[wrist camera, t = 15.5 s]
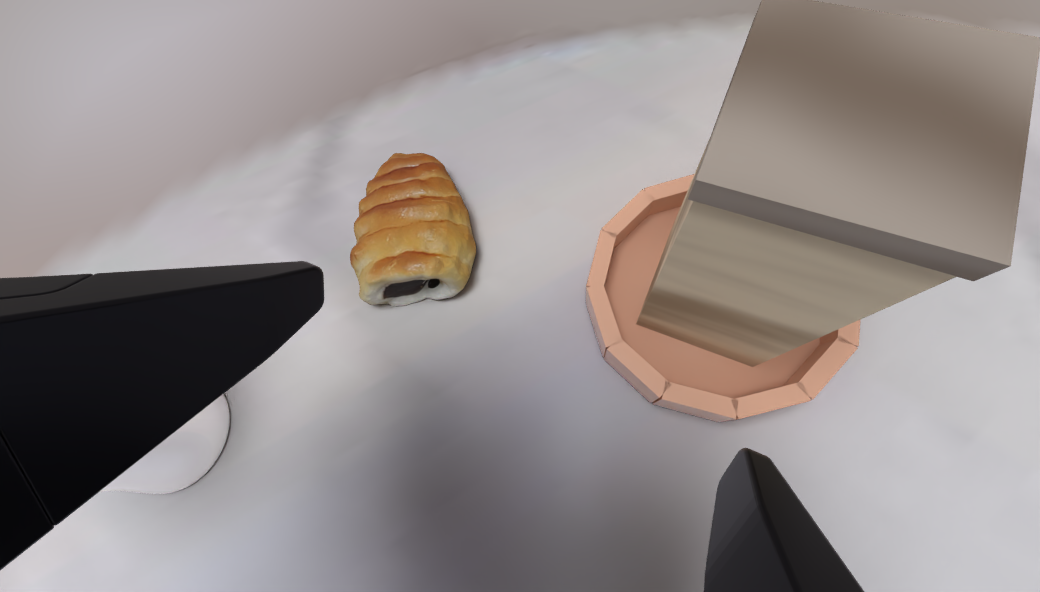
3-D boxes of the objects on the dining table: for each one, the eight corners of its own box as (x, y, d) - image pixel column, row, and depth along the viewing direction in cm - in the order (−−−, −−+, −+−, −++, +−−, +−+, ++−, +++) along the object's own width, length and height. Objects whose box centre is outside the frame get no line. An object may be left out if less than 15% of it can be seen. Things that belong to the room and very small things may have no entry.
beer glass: (188, 345, 25) (-310, 220, 11) (263, 416, 23) (-229, 372, 9) (97, 448, 24) (-602, 454, 10) (168, 533, 22) (-585, 695, 8)
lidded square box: (755, 371, 20) (1010, 265, 8) (632, 325, 21) (696, 179, 9) (786, 262, 21) (1041, 37, 9) (669, 226, 22) (764, -8, 11)
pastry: (366, 179, 28) (335, 139, 24) (468, 159, 27) (452, 115, 24) (369, 317, 24) (334, 295, 21) (485, 296, 24) (469, 270, 20)
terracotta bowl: (876, 381, 20) (916, 373, 17) (630, 445, 20) (637, 445, 18) (766, 176, 24) (787, 147, 21) (564, 234, 24) (562, 211, 22)
